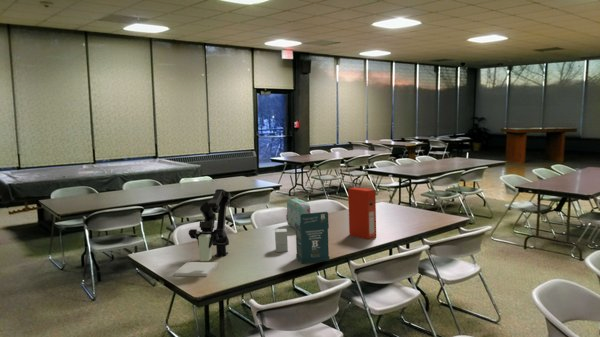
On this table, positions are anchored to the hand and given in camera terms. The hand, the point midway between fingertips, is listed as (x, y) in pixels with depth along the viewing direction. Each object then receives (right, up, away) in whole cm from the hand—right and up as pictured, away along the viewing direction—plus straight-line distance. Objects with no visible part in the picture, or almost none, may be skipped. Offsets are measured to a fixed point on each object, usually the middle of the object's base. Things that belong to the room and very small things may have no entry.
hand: (204, 247), depth 238 cm
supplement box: (+39, -8, +38) cm, 55 cm away
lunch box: (+49, -2, +94) cm, 107 cm away
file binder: (+93, -4, +64) cm, 113 cm away
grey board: (-5, -13, +6) cm, 15 cm away
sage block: (0, -6, +2) cm, 7 cm away
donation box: (+57, -10, +20) cm, 61 cm away
